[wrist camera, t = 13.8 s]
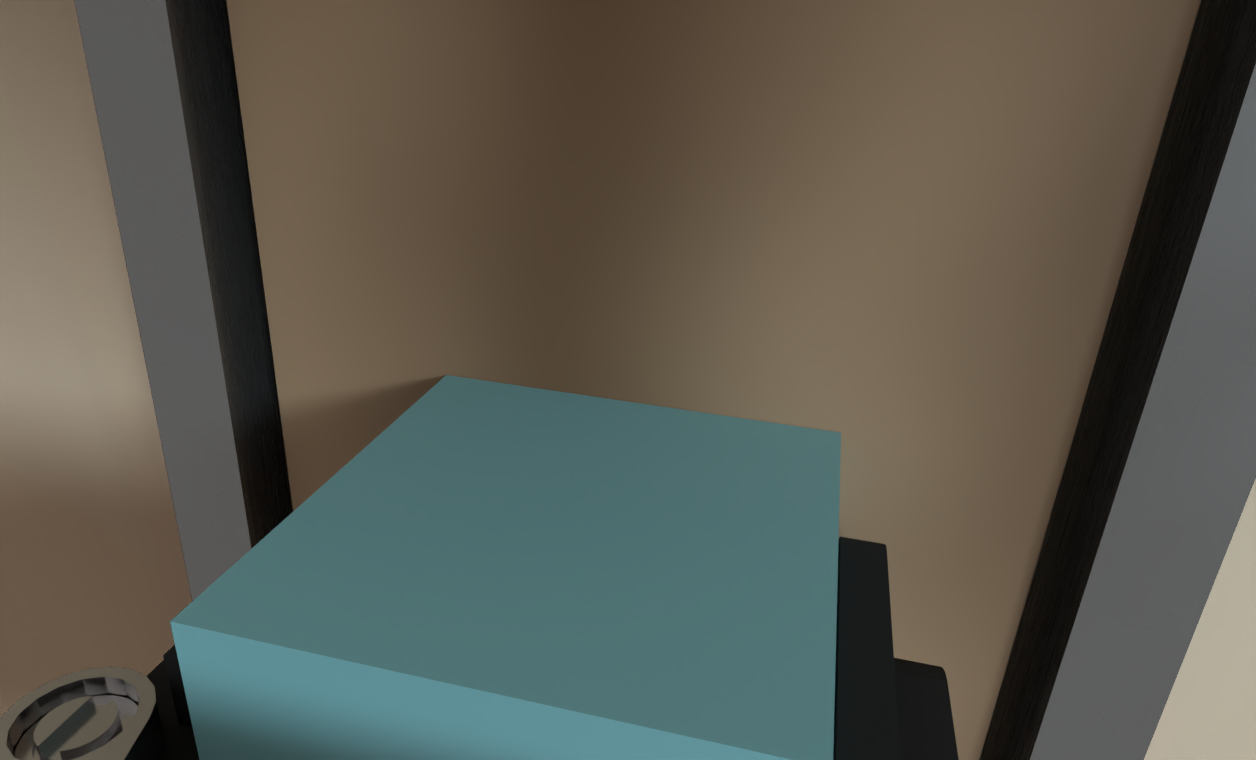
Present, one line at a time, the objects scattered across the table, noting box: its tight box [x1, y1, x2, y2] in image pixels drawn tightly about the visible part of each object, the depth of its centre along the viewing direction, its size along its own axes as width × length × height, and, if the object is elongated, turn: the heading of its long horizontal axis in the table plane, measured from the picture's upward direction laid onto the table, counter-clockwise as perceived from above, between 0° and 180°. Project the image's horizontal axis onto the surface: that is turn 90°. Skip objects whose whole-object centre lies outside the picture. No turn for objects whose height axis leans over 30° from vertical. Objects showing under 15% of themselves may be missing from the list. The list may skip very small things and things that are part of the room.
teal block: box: [170, 375, 841, 760], centre depth 9 cm, size 5×5×5 cm
